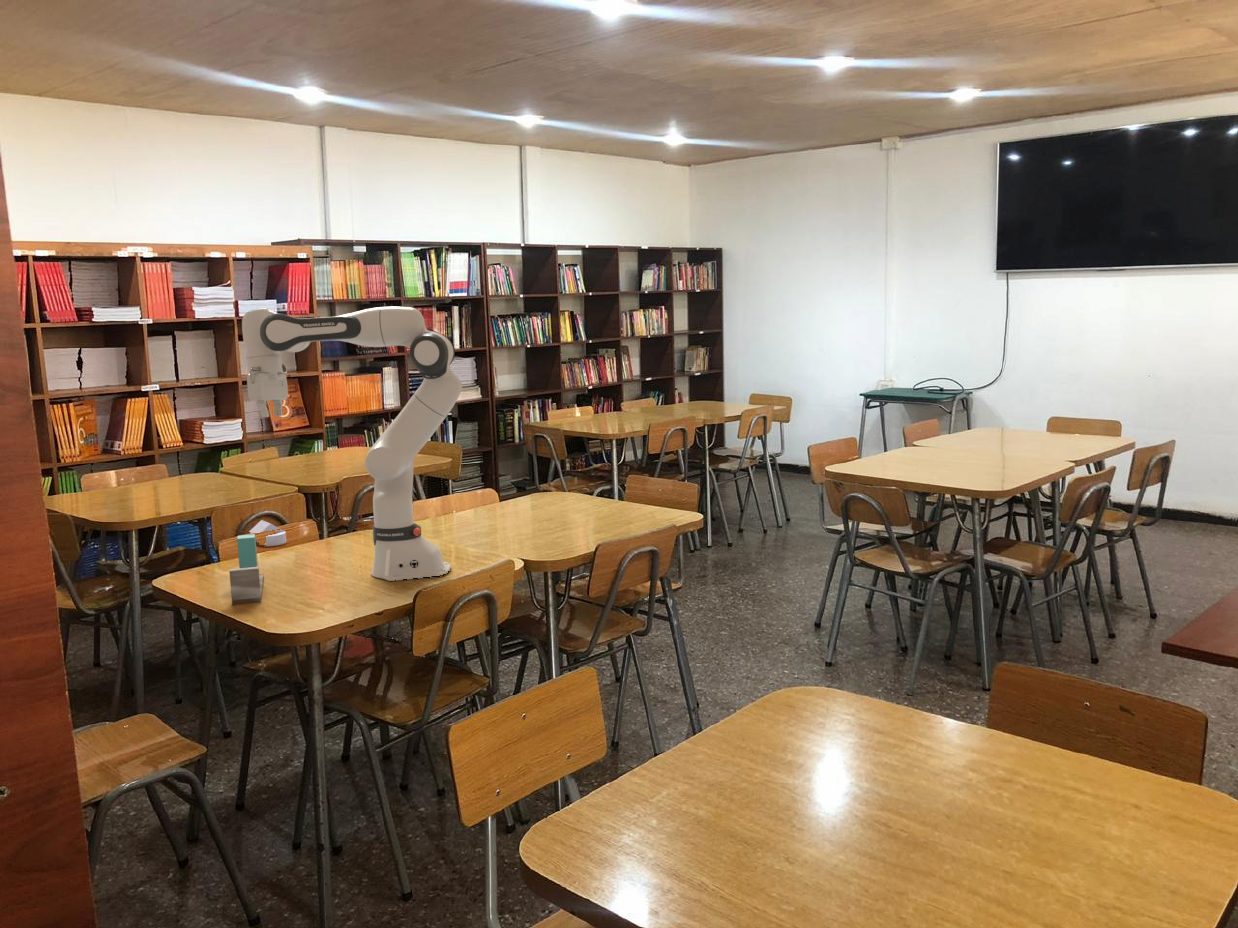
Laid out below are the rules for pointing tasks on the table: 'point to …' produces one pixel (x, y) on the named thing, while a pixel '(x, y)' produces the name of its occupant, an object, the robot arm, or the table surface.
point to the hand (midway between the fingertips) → (272, 416)
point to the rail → (246, 585)
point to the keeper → (247, 551)
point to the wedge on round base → (270, 539)
